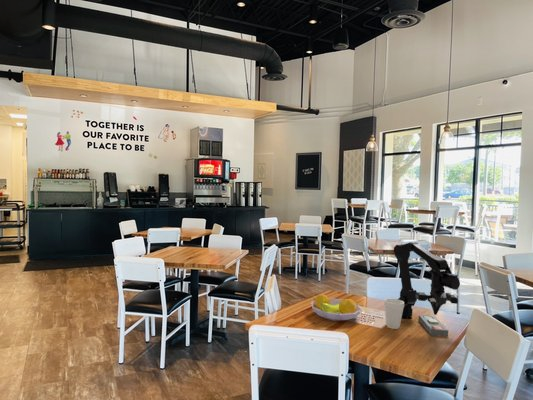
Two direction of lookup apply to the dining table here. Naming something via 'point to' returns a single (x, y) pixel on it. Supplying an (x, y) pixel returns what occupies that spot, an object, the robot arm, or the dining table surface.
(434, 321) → the sage button
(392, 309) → the foam cup
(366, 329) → the dining table surface
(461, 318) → the dining table surface
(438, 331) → the button panel
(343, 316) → the fruit bowl
